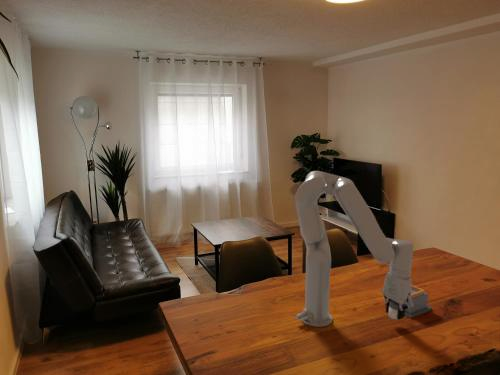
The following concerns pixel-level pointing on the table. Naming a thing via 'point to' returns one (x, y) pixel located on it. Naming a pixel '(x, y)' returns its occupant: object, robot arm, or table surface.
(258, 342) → the table surface
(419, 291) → the grey square peg holder
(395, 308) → the gray and white capsule
